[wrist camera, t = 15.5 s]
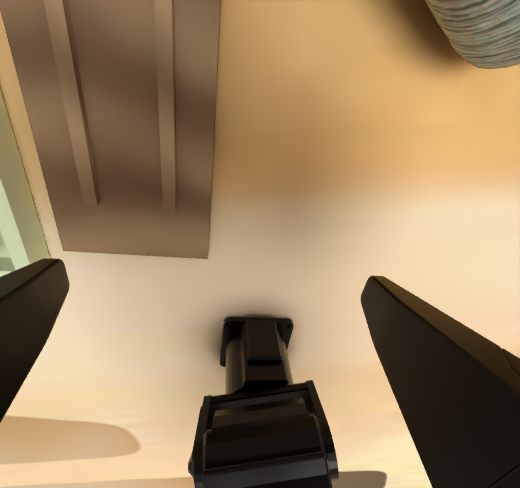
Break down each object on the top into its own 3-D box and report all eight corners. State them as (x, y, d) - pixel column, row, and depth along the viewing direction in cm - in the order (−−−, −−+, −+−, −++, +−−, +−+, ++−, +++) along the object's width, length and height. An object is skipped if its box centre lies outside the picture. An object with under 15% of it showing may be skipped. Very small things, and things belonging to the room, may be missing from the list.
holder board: (208, 253, 22) (206, 262, 21) (68, 244, 20) (59, 254, 19) (232, -223, 11) (232, -256, 10) (-71, -320, 9) (-111, -372, 8)
